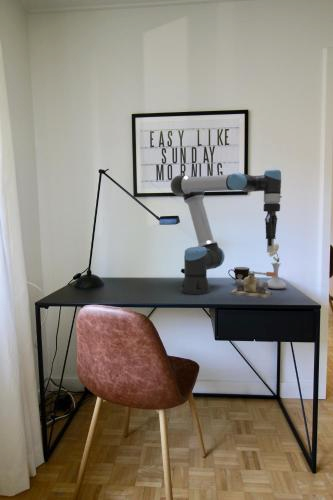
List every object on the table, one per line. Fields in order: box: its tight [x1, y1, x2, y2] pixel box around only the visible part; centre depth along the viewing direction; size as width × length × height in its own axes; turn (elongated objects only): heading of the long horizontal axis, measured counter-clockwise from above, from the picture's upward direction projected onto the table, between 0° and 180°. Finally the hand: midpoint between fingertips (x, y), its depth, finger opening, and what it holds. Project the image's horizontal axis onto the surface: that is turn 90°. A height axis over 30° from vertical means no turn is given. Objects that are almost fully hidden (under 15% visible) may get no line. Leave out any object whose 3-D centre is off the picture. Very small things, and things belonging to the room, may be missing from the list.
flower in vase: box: [266, 243, 287, 290], centre depth 177 cm, size 13×11×25 cm
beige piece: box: [230, 274, 273, 299], centre depth 166 cm, size 18×10×10 cm, turn 57°
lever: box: [249, 270, 276, 278], centre depth 162 cm, size 14×3×2 cm, turn 53°
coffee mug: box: [227, 266, 250, 281], centre depth 188 cm, size 12×9×10 cm
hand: (270, 252), depth 157 cm, fingers closed
